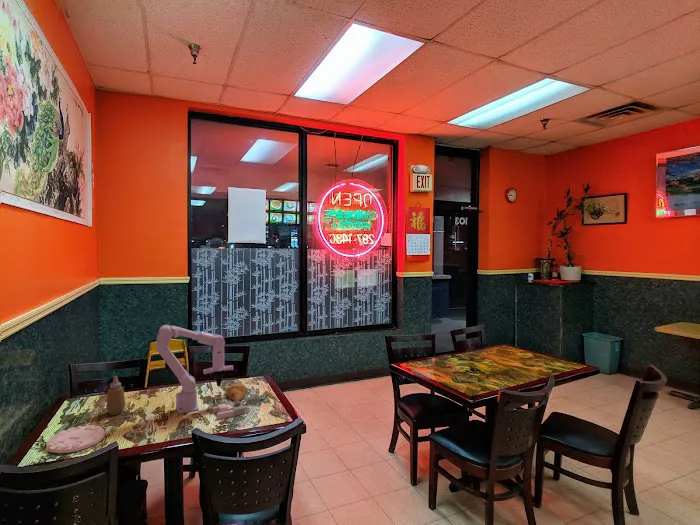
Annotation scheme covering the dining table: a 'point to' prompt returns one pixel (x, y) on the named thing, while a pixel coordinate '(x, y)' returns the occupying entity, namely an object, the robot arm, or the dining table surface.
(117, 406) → the squeeze bottle
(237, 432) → the dining table surface
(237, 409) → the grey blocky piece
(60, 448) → the embossed medallion
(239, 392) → the croissant
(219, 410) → the pink stepped block
